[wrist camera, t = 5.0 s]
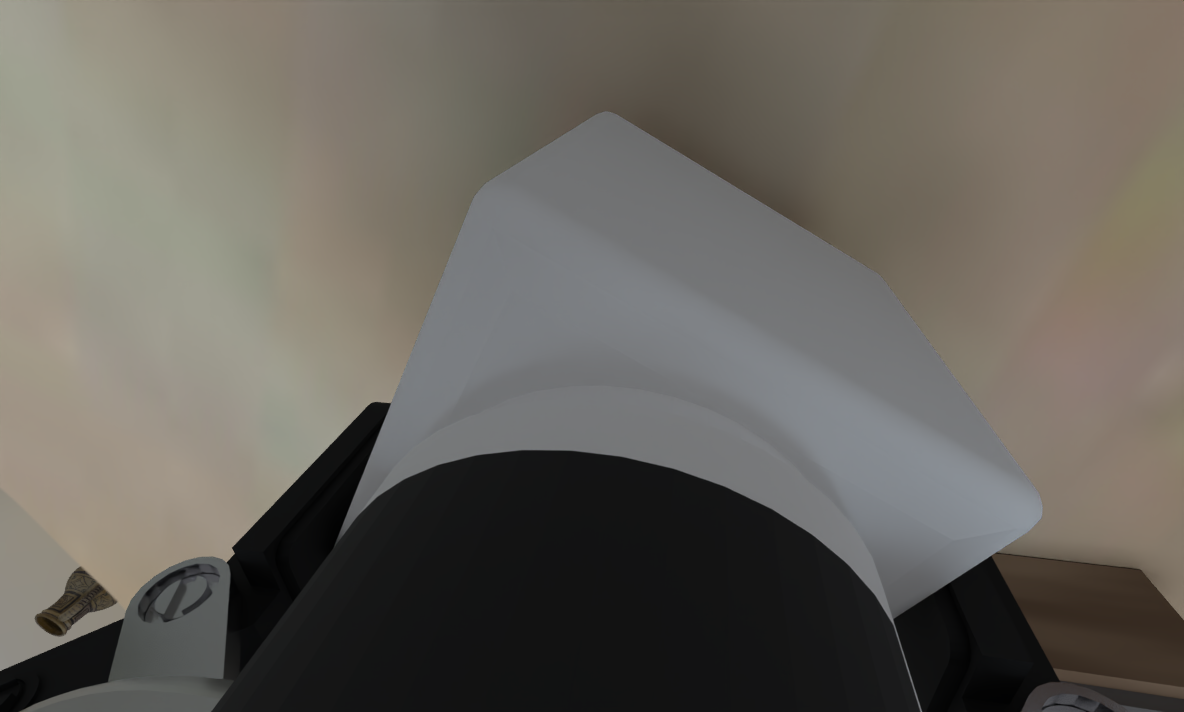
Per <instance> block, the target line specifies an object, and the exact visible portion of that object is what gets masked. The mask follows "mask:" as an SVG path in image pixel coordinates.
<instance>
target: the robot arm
mask: <svg viewBox="0 0 1184 712" xmlns="http://www.w3.org/2000/svg"><path fill="white" fill-rule="evenodd" d="M390 405H391V403H381V402H373V403H371V404H370V405H368V406H367V407H366V408H365V410H364V411H363V412H362V413H361V414H360V415H359V416H358V417H357V418H356V419H355V420H354V421H353V422H352V423H351V424H350V425H349V426H348V427H347V428H346V429H345V430H344V431H343V432H342V434H341V435H340V436H339V437H338V438H337V439H336V440H335V441H334V442H333V443H332V444H331V445H330V446H329V447H328V448H327V449H326V450H325V451H324V452H323V453H322V454H321V455H320V457H319V458H318V459H317V460H316V461H315V462H314V463H313V464H312V465H311V466H310V467H309V468H308V469H307V470H306V471H305V472H304V473H303V474H302V475H301V476H300V477H299V478H298V479H297V481H296V482H295V483H294V484H293V485H292V486H291V487H290V488H289V489H288V490H287V491H286V492H285V493H284V494H283V495H282V496H281V497H280V498H279V499H278V500H277V501H276V502H275V504H274V505H273V506H272V507H271V508H270V509H269V510H268V511H267V512H266V513H265V514H264V515H263V516H262V517H261V518H260V519H259V520H258V521H257V522H256V523H255V524H254V525H253V526H252V528H251V529H250V530H249V531H248V532H247V533H246V534H245V535H244V536H243V537H242V538H241V539H240V540H239V541H238V542H237V543H236V544H235V545H234V546H233V547H232V549H233V551H234V553H235V554H234V555H233V556H232V557H231V558H230V560H229V561H228V562H227V563H226V562H225V561H224V560H223V559H220V558H216V557H198V558H194V559H190V560H186V561H183V562H181V563H178V564H176V565H174V566H171V567H169V568H167V569H166V570H164V571H163V572H161V573H159V574H158V575H156V576H154V577H153V578H152V579H151V580H150V581H148V582H147V583H146V584H145V585H144V586H142V587H141V588H140V590H139V591H138V592H137V593H136V594H135V596H134V597H133V598H132V599H131V601H130V604H129V606H128V608H127V610H126V613H125V617H124V619H122V620H119V621H117V622H114V623H112V624H110V625H108V626H105V627H102V628H100V629H98V630H96V631H93V632H91V633H88V634H86V635H84V636H81V637H79V638H77V639H74V640H72V641H70V642H67V643H65V644H63V645H60V646H58V647H56V648H53V649H51V650H49V651H47V652H44V653H42V654H39V655H37V656H34V657H32V658H30V659H28V660H25V661H23V662H20V663H18V664H16V665H14V666H11V667H9V668H6V669H4V670H2V671H0V712H211V711H212V710H213V709H214V707H215V706H216V704H217V703H218V702H219V700H220V699H221V698H222V696H223V695H224V694H225V692H226V691H227V690H228V688H229V687H230V686H231V684H232V683H233V682H234V680H235V679H236V678H237V676H238V675H239V674H240V672H241V671H242V670H243V668H244V667H245V666H246V664H247V663H248V662H249V660H250V659H251V658H252V656H253V655H254V654H255V652H256V651H257V650H258V648H259V647H260V646H261V644H262V643H263V642H264V640H265V639H266V638H267V636H268V635H269V634H270V632H271V631H272V630H273V628H274V627H275V626H276V624H277V623H278V622H279V620H280V619H281V618H282V616H283V615H284V614H285V612H286V611H287V610H288V608H289V607H290V606H291V604H292V603H293V602H294V600H295V599H296V598H297V596H298V595H299V594H300V592H301V591H302V590H303V588H304V587H305V586H306V584H307V583H308V582H309V580H310V579H311V578H312V576H313V575H314V574H315V572H316V571H317V570H318V568H319V567H320V566H321V564H322V563H323V561H324V560H325V559H326V557H327V556H328V555H329V553H330V552H331V551H332V549H333V548H334V545H335V543H336V540H337V538H338V535H339V533H340V530H341V528H342V525H343V523H344V520H345V518H346V515H347V513H348V510H349V508H350V505H351V503H352V500H353V498H354V495H355V493H356V490H357V488H358V485H359V483H360V480H361V478H362V475H363V473H364V470H365V468H366V465H367V463H368V460H369V458H370V455H371V453H372V450H373V448H374V445H375V443H376V440H377V438H378V435H379V433H380V430H381V428H382V425H383V423H384V420H385V418H386V415H387V413H388V410H389V408H390ZM893 621H894V624H895V627H896V631H897V634H898V637H899V640H900V643H901V646H902V650H903V653H904V656H905V659H906V662H907V666H908V669H909V672H910V675H911V678H912V681H913V685H914V688H915V691H916V694H917V697H918V701H919V704H920V707H921V710H922V712H1129V711H1128V710H1126V709H1125V708H1124V707H1122V706H1121V705H1119V704H1118V703H1116V702H1115V701H1114V700H1112V699H1110V698H1108V697H1106V696H1104V695H1102V694H1100V693H1098V692H1095V691H1093V690H1091V689H1089V688H1085V687H1082V686H1078V685H1075V684H1072V683H1062V682H1060V680H1059V678H1058V677H1057V675H1056V673H1055V671H1054V669H1053V667H1052V666H1051V664H1050V662H1049V660H1048V658H1047V657H1046V655H1045V653H1044V651H1043V649H1042V647H1041V646H1040V644H1039V642H1038V640H1037V638H1036V636H1035V635H1034V633H1033V631H1032V629H1031V627H1030V625H1029V624H1028V622H1027V620H1026V618H1025V616H1024V614H1023V613H1022V611H1021V609H1020V607H1019V605H1018V603H1017V602H1016V600H1015V598H1014V596H1013V594H1012V593H1011V591H1010V589H1009V587H1008V585H1007V583H1006V582H1005V580H1004V578H1003V576H1002V574H1001V572H1000V571H999V569H998V567H997V565H996V563H995V561H994V560H993V558H992V556H990V557H988V558H987V559H985V560H984V561H982V562H981V563H979V564H978V565H976V566H974V567H973V568H971V569H970V570H968V571H967V572H965V573H964V574H962V575H961V576H959V577H957V578H956V579H954V580H953V581H951V582H950V583H948V584H947V585H945V586H943V587H942V588H940V589H939V590H937V591H936V592H934V593H933V594H931V595H930V596H928V597H926V598H925V599H923V600H922V601H920V602H919V603H917V604H916V605H914V606H913V607H911V608H909V609H908V610H906V611H905V612H903V613H902V614H900V615H899V616H897V617H896V618H894V619H893Z"/></svg>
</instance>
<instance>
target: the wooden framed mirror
mask: <svg viewBox="0 0 1184 712" xmlns="http://www.w3.org/2000/svg"><path fill="white" fill-rule="evenodd" d="M991 556H992V558H993V560H994V561H995V563H996V565H997V567H998V569H999V571H1000V572H1001V574H1002V576H1003V578H1004V580H1005V582H1006V583H1007V585H1008V587H1009V589H1010V591H1011V593H1012V594H1013V596H1014V598H1015V600H1016V602H1017V603H1018V605H1019V607H1020V609H1021V611H1022V613H1023V614H1024V616H1025V618H1026V620H1027V622H1028V624H1029V625H1030V627H1031V629H1032V631H1033V633H1034V635H1035V636H1036V638H1037V640H1038V642H1039V644H1040V646H1041V647H1042V649H1043V651H1044V653H1045V655H1046V657H1047V658H1048V660H1049V662H1050V664H1051V666H1052V667H1053V669H1054V671H1055V673H1056V675H1057V677H1058V678H1059V680H1060V682H1062V683H1072V684H1075V685H1078V686H1082V687H1085V688H1089V689H1091V690H1093V691H1095V692H1098V693H1100V694H1102V695H1104V696H1106V697H1108V698H1110V699H1112V700H1114V701H1115V702H1116V703H1118V704H1119V705H1121V706H1122V707H1124V708H1125V709H1126V710H1128V711H1129V712H1184V620H1183V619H1182V618H1181V617H1180V615H1179V614H1178V613H1177V612H1176V611H1175V610H1174V608H1173V607H1172V606H1171V605H1170V604H1169V603H1168V601H1167V600H1166V599H1165V598H1164V597H1163V595H1162V594H1161V593H1160V592H1159V591H1158V590H1157V588H1156V587H1155V586H1154V585H1153V584H1152V583H1151V581H1150V580H1149V579H1148V578H1147V577H1146V576H1145V574H1144V573H1143V572H1142V571H1141V570H1135V569H1126V568H1118V567H1109V566H1100V565H1092V564H1083V563H1074V562H1066V561H1057V560H1048V559H1039V558H1031V557H1022V556H1013V555H1005V554H996V553H995V554H993V555H991Z"/></svg>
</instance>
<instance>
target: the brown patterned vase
mask: <svg viewBox="0 0 1184 712" xmlns="http://www.w3.org/2000/svg"><path fill="white" fill-rule="evenodd" d="M116 603H118V602H117V601H116V599H115V598H114V597H113V596H112V595H111V594H110V593H109V592H108V591H107V590H106V589H105V588H104V587H103V586H101V584H100V583H98V582H97V581H96V580H95V579H94V578H93V577H92V576H91V575H90V574H89V573H88V572H87V571H85V570H84V569H83V568H82V567H81V566H80V567H79V568H77V569H76V570H75V571H74V572H73V573H72V574H71V576H70V577H69V579H68V581H67V583H66V587H65V592H64V594H63V596H61V597H60V599H59V600H58V601H57V602H55V603H54V604H53V605H52V606H50V607H49V608H48V609H45V610H43V611H42V612H41V613H39V614H37V615H36V616H35V622H36V623H37V625H39V626H40V627H41V628H42V629H43V630H44V631H46V632H47V633H49V634H51V635H53V636H58V637H61V636H64V635H66V633H67V631H68V630H70V629H71V626H72V625H73V624H75V623H76V622H77V621H78V620H80V619H81V618H82V617H83V616H85V615H86V614H87V613H90V612H96V611H100V610H104V609H106V608H109V607H111V606H113V605H115V604H116Z"/></svg>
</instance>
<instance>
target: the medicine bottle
mask: <svg viewBox="0 0 1184 712" xmlns="http://www.w3.org/2000/svg"><path fill="white" fill-rule="evenodd" d="M1042 507H1043V506H1042V503H1041V499H1040V495H1039V492H1038V491H1037V490H1036V488H1035V487H1034V486H1033V484H1032V483H1031V481H1030V480H1029V479H1028V477H1027V476H1026V475H1025V473H1024V472H1023V470H1022V469H1021V468H1020V466H1019V465H1018V464H1017V462H1016V461H1015V459H1014V458H1013V457H1012V455H1011V454H1010V452H1009V451H1008V450H1007V448H1006V447H1005V446H1004V444H1003V443H1002V441H1001V440H1000V439H999V437H998V436H997V435H996V433H995V432H994V430H993V429H992V428H991V426H990V425H989V424H988V422H987V421H986V419H985V418H984V417H983V415H982V414H981V413H980V411H979V410H978V408H977V407H976V406H975V404H974V403H973V402H972V400H971V399H970V397H969V396H968V395H967V393H966V392H965V391H964V389H963V388H962V386H961V385H960V384H959V382H958V381H957V379H956V378H955V377H954V375H953V374H952V373H951V371H950V370H949V368H948V367H947V366H946V364H945V363H944V362H943V360H942V359H941V357H940V356H939V355H938V353H937V352H936V351H935V349H934V348H933V346H932V345H931V344H930V342H929V341H928V340H927V338H926V337H925V335H924V334H923V333H922V331H921V330H920V329H919V327H918V326H917V324H916V323H915V322H914V320H913V319H912V318H911V316H910V315H909V313H908V312H907V311H906V309H905V308H904V307H903V305H902V304H901V302H900V301H899V300H898V298H897V297H896V295H895V294H894V293H893V291H892V290H891V289H890V287H889V286H888V284H887V283H886V282H885V280H884V279H883V278H882V277H881V276H880V275H879V274H878V273H876V272H875V271H873V270H871V269H870V268H868V267H866V266H865V265H863V264H861V263H860V262H858V261H857V260H855V259H853V258H852V257H850V256H848V255H847V254H845V253H843V252H842V251H840V250H839V249H837V248H835V247H834V246H832V245H830V244H829V243H827V242H825V241H824V240H822V239H820V238H819V237H817V236H816V235H814V234H812V233H811V232H809V231H807V230H806V229H804V228H802V227H801V226H799V225H798V224H796V223H794V222H793V221H791V220H789V219H788V218H786V217H784V216H783V215H781V214H779V213H778V212H776V211H775V210H773V209H771V208H770V207H768V206H766V205H765V204H763V203H761V202H760V201H758V200H756V199H755V198H753V197H752V196H750V195H748V194H747V193H745V192H743V191H742V190H740V189H738V188H737V187H735V186H734V185H732V184H730V183H729V182H727V181H725V180H724V179H722V178H720V177H719V176H717V175H715V174H714V173H712V172H711V171H709V170H707V169H706V168H704V167H702V166H701V165H699V164H697V163H696V162H694V161H693V160H691V159H689V158H688V157H686V156H684V155H683V154H681V153H679V152H678V151H676V150H674V149H673V148H671V147H670V146H668V145H666V144H665V143H663V142H661V141H660V140H658V139H656V138H655V137H653V136H651V135H650V134H648V133H647V132H645V131H643V130H642V129H640V128H638V127H637V126H635V125H633V124H632V123H630V122H629V121H627V120H625V119H624V118H622V117H620V116H619V115H617V114H615V113H612V112H608V111H604V112H601V113H598V114H596V115H594V116H593V117H591V118H590V119H588V120H586V121H585V122H583V123H581V124H580V125H578V126H577V127H575V128H573V129H572V130H570V131H569V132H567V133H565V134H564V135H562V136H561V137H559V138H557V139H556V140H554V141H553V142H551V143H549V144H548V145H546V146H544V147H543V148H541V149H540V150H538V151H536V152H535V153H533V154H532V155H530V156H528V157H527V158H525V159H524V160H522V161H520V162H519V163H517V164H515V165H514V166H512V167H511V168H509V169H507V170H506V171H504V172H503V173H501V174H499V175H498V176H496V177H495V178H493V179H491V180H490V181H488V182H487V183H485V184H484V185H483V186H482V187H481V189H480V190H479V191H478V192H477V194H476V195H475V196H474V197H473V200H472V202H471V205H470V207H469V210H468V212H467V215H466V217H465V220H464V222H463V225H462V228H461V230H460V233H459V235H458V238H457V240H456V243H455V245H454V248H453V250H452V253H451V255H450V258H449V260H448V263H447V265H446V268H445V270H444V273H443V275H442V278H441V280H440V283H439V285H438V288H437V290H436V293H435V295H434V298H433V300H432V303H431V305H430V308H429V310H428V313H427V315H426V318H425V320H424V323H423V325H422V328H421V330H420V333H419V335H418V338H417V340H416V343H415V345H414V348H413V350H412V353H411V355H410V358H409V360H408V363H407V365H406V368H405V370H404V373H403V375H402V378H401V380H400V383H399V385H398V388H397V390H396V393H395V395H394V398H393V400H392V403H391V405H390V408H389V410H388V413H387V415H386V418H385V420H384V423H383V425H382V428H381V430H380V433H379V435H378V438H377V440H376V443H375V445H374V448H373V450H372V453H371V455H370V458H369V460H368V463H367V465H366V468H365V470H364V473H363V475H362V478H361V480H360V483H359V485H358V488H357V490H356V493H355V495H354V498H353V500H352V503H351V505H350V508H349V510H348V513H347V515H346V518H345V520H344V523H343V525H342V528H341V530H340V533H339V535H338V538H337V540H336V543H335V545H334V548H333V549H332V551H331V552H330V553H329V555H328V556H327V557H326V559H325V560H324V561H323V563H322V564H321V566H320V567H319V568H318V570H317V571H316V572H315V574H314V575H313V576H312V578H311V579H310V580H309V582H308V583H307V584H306V586H305V587H304V588H303V590H302V591H301V592H300V594H299V595H298V596H297V598H296V599H295V600H294V602H293V603H292V604H291V606H290V607H289V608H288V610H287V611H286V612H285V614H284V615H283V616H282V618H281V619H280V620H279V622H278V623H277V624H276V626H275V627H274V628H273V630H272V631H271V632H270V634H269V635H268V636H267V638H266V639H265V640H264V642H263V643H262V644H261V646H260V647H259V648H258V650H257V651H256V652H255V654H254V655H253V656H252V658H251V659H250V660H249V662H248V663H247V664H246V666H245V667H244V668H243V670H242V671H241V672H240V674H239V675H238V676H237V678H236V679H235V680H234V682H233V683H232V684H231V686H230V687H229V688H228V690H227V691H226V692H225V694H224V695H223V696H222V698H221V699H220V700H219V702H218V703H217V704H216V706H215V707H214V709H213V710H212V711H211V712H922V710H921V707H920V704H919V701H918V697H917V694H916V691H915V688H914V685H913V681H912V678H911V675H910V672H909V669H908V666H907V662H906V659H905V656H904V653H903V650H902V646H901V643H900V640H899V637H898V634H897V631H896V627H895V624H894V621H893V619H894V618H896V617H897V616H899V615H900V614H902V613H903V612H905V611H906V610H908V609H909V608H911V607H913V606H914V605H916V604H917V603H919V602H920V601H922V600H923V599H925V598H926V597H928V596H930V595H931V594H933V593H934V592H936V591H937V590H939V589H940V588H942V587H943V586H945V585H947V584H948V583H950V582H951V581H953V580H954V579H956V578H957V577H959V576H961V575H962V574H964V573H965V572H967V571H968V570H970V569H971V568H973V567H974V566H976V565H978V564H979V563H981V562H982V561H984V560H985V559H987V558H988V557H990V556H991V555H993V554H995V553H996V552H998V551H999V550H1001V549H1002V548H1004V547H1005V546H1007V545H1008V544H1010V543H1012V542H1013V541H1015V540H1016V539H1018V538H1019V537H1021V536H1022V535H1024V534H1026V533H1027V532H1028V531H1029V530H1031V529H1032V528H1033V526H1034V525H1035V524H1036V523H1037V522H1038V521H1039V520H1040V519H1041V518H1042Z"/></svg>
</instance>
